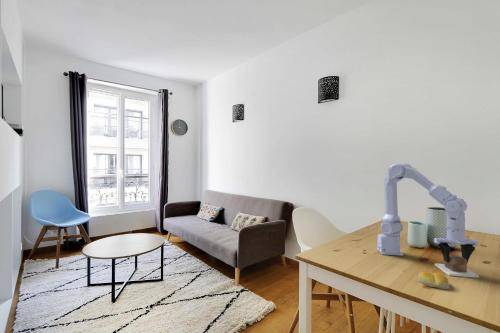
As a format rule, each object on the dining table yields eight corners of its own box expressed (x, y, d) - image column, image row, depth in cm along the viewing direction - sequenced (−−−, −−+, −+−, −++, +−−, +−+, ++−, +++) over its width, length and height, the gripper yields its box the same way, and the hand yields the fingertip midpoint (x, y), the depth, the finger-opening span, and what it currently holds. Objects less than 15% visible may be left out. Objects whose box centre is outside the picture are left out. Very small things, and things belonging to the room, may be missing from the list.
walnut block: (452, 271, 96) (452, 258, 96) (444, 266, 101) (444, 254, 101) (466, 272, 96) (466, 259, 96) (458, 267, 100) (458, 255, 100)
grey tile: (449, 275, 95) (449, 273, 95) (434, 265, 104) (434, 263, 104) (478, 277, 93) (478, 275, 93) (461, 267, 102) (461, 265, 102)
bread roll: (417, 276, 94) (417, 266, 94) (447, 282, 89) (447, 271, 89) (418, 285, 87) (418, 274, 87) (450, 292, 82) (450, 280, 82)
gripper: (441, 230, 96) (441, 264, 96) (483, 232, 93) (483, 267, 93) (431, 225, 103) (431, 257, 103) (471, 227, 100) (470, 260, 100)
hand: (455, 262), depth 98 cm, fingers open, 6 cm apart
